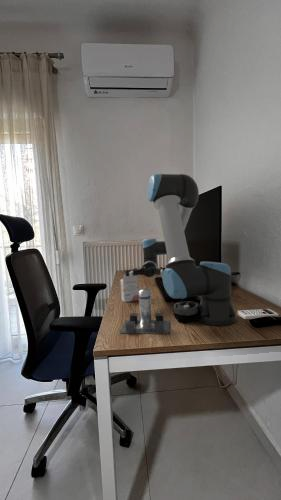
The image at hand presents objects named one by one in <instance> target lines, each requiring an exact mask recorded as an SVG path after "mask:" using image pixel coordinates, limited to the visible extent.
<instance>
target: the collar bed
mask: <svg viewBox="0 0 281 500" xmlns="http://www.w3.org/2000/svg"><path fill="white" fill-rule="evenodd" d="M170 331H171V330H170V320H169V319H164V312H156V313H155V319H154V320H152V319H151V327H150V328H141V327H140V319H139V314H138V313H137V312H135V313H134V312H131V313H130V314H129V320H125V321H124V323H123V325H122V328H121V330H120V331H119V335H120V334H123V335H124V334H128V335H129V334H137V335H138V334H170Z"/></svg>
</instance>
